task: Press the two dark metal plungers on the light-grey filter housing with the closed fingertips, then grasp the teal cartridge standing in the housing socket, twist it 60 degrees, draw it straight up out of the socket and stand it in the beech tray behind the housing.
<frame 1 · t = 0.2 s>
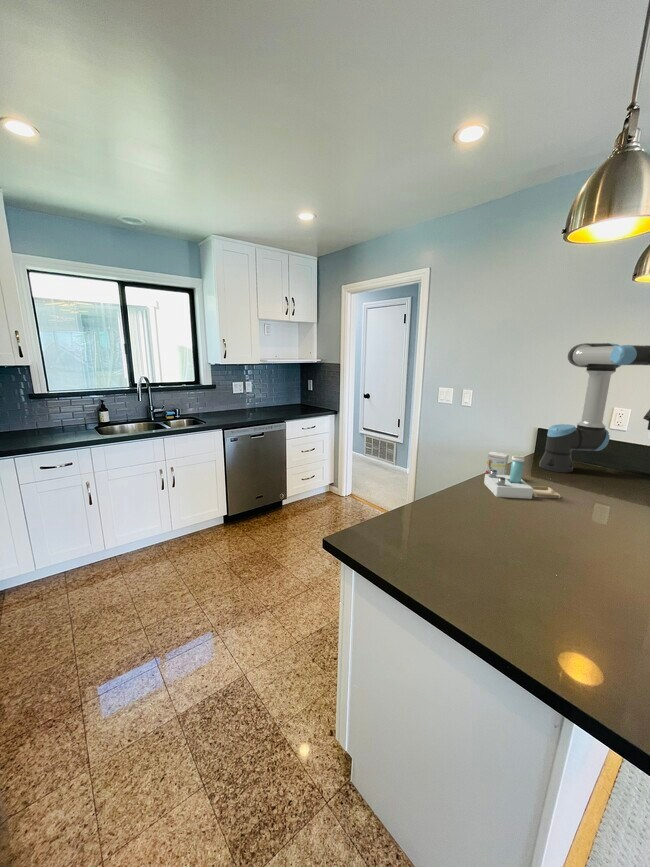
housing: (506, 491, 154), on the table
cartridge: (513, 490, 153), point 1 cm above the table, touching housing
plunger 1: (493, 476, 158), point 5 cm above the table, slide at 0.0 cm
plunger 2: (501, 483, 148), point 5 cm above the table, slide at 0.0 cm
ink box: (495, 477, 173), on the table
tray: (541, 494, 151), on the table
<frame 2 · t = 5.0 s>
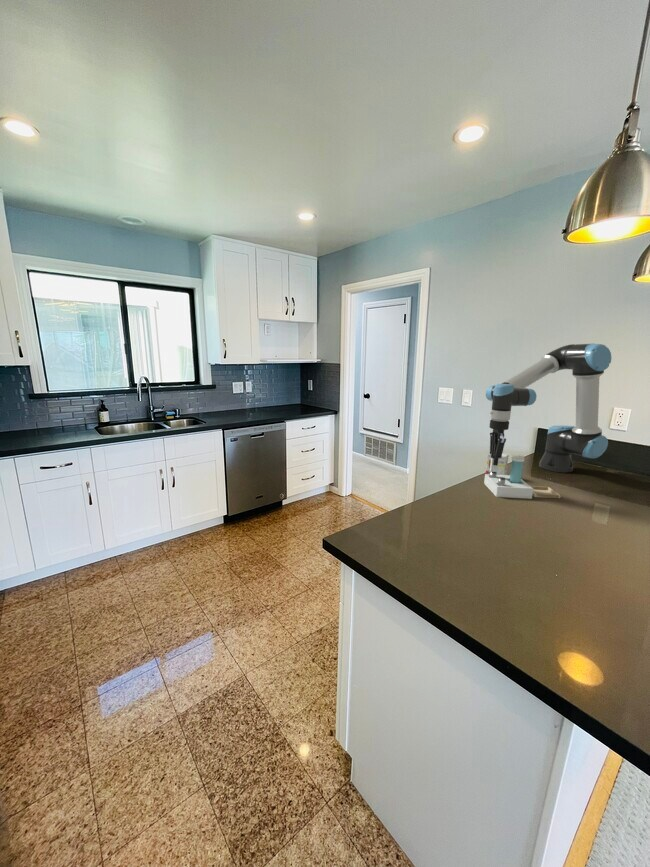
hand: (493, 471, 157), 7 cm above the table, fingers closed
plunger 1: (492, 477, 158), point 5 cm above the table, slide at 0.7 cm, touching gripper
everything else where it was.
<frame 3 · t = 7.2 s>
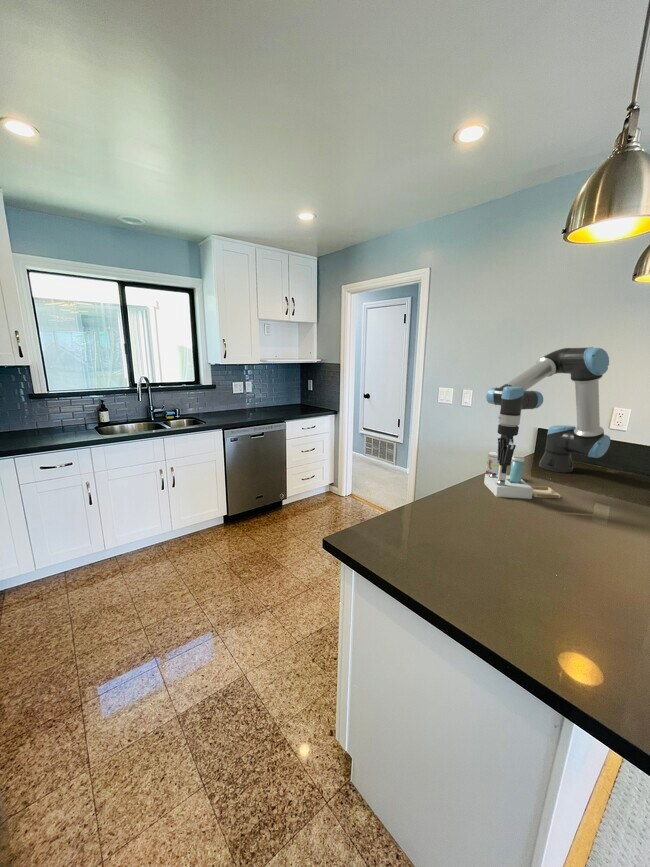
hand: (501, 479, 148), 7 cm above the table, fingers closed
plunger 1: (492, 479, 158), point 4 cm above the table, slide at 1.5 cm
plunger 2: (501, 486, 148), point 4 cm above the table, slide at 0.9 cm, touching gripper
everything else where it was.
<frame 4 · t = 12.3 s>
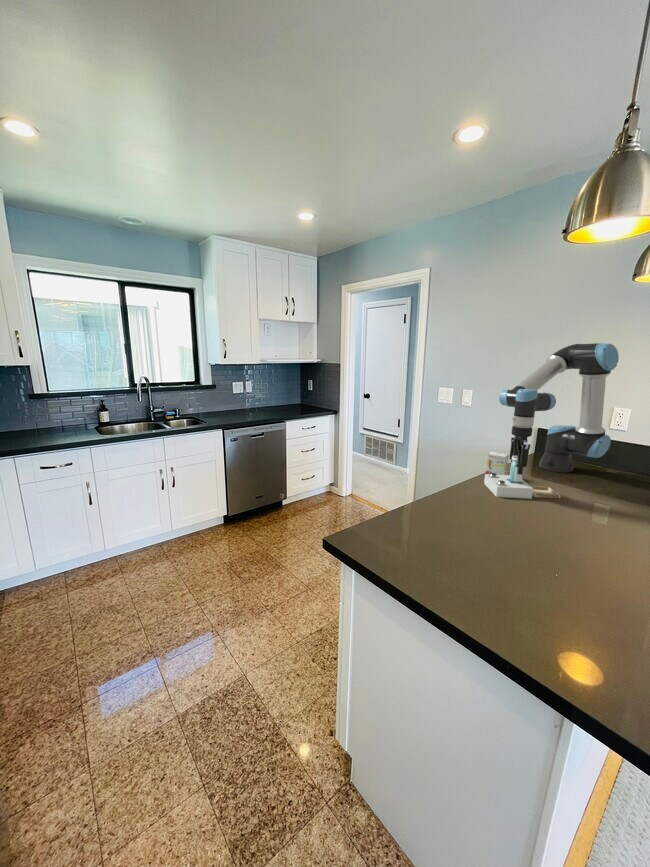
hand: (515, 478, 152), 6 cm above the table, fingers closed on cartridge, 4 cm apart
cartridge: (513, 490, 153), point 1 cm above the table, touching gripper, housing
plunger 2: (500, 487, 148), point 4 cm above the table, slide at 1.5 cm
everything else where it was.
when the fingers open (8 cm above the table, at t = 19.2 s): cartridge drops 1 cm, resting on tray.
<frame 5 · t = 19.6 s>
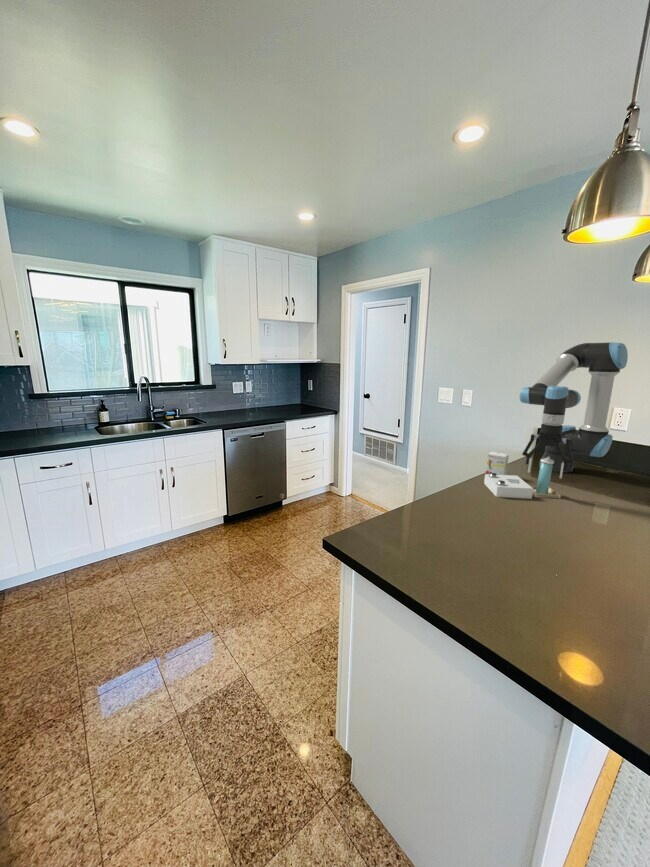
hand: (544, 474, 149), 9 cm above the table, fingers open, 11 cm apart
cartridge: (541, 493, 151), point 1 cm above the table, touching tray
everything else where it was.
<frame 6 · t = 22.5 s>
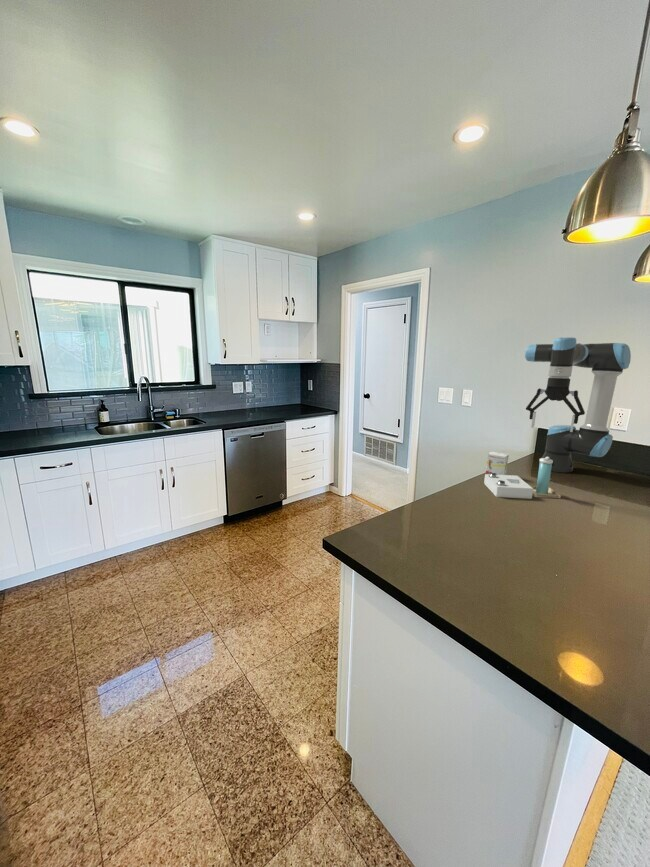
hand: (551, 429, 145), 29 cm above the table, fingers open, 13 cm apart
nothing on the table moved.
at the end: cartridge inside the target area on the tray (0.1 cm from its centre), point 0.6 cm above the tray's base; cartridge tilted 1°; plunger 2 slide at 1.5 cm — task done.
